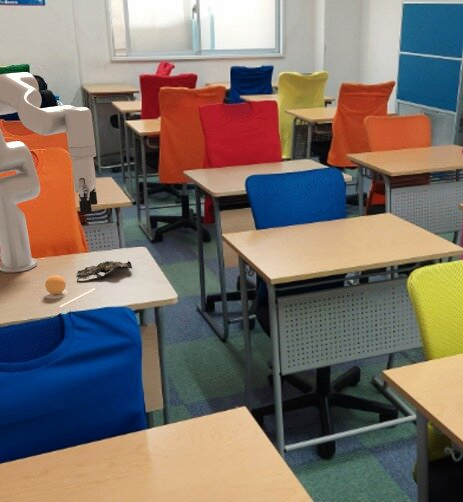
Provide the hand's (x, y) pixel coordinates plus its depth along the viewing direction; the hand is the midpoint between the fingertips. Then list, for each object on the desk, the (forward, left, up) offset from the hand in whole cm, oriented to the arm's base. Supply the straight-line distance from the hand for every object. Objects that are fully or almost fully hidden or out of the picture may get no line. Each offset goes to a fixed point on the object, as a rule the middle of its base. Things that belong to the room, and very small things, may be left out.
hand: (89, 209), depth 183 cm
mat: (-4, -7, -27) cm, 28 cm away
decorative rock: (-9, +12, -27) cm, 31 cm away
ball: (-10, -8, -26) cm, 29 cm away
